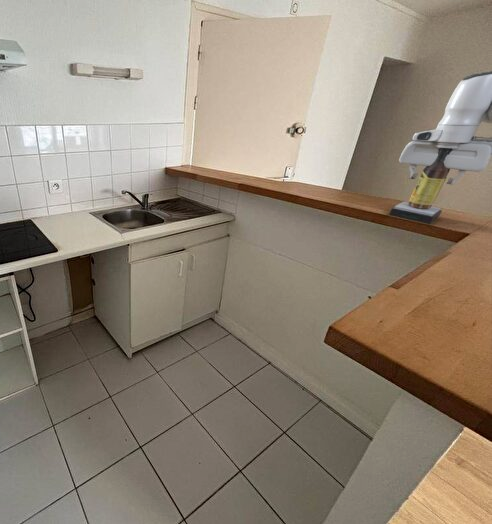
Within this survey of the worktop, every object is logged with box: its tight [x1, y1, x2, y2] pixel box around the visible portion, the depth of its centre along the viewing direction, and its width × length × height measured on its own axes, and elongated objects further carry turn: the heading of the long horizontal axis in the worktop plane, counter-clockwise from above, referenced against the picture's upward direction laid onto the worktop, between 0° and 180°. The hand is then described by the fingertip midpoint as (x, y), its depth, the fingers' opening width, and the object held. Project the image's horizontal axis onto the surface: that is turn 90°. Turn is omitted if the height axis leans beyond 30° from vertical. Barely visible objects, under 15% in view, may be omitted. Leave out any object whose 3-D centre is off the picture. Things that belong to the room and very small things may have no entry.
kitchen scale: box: [389, 200, 443, 225], centre depth 97 cm, size 11×11×3 cm
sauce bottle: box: [408, 148, 453, 209], centre depth 92 cm, size 6×6×20 cm
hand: (430, 181), depth 92 cm, fingers open, 8 cm apart
